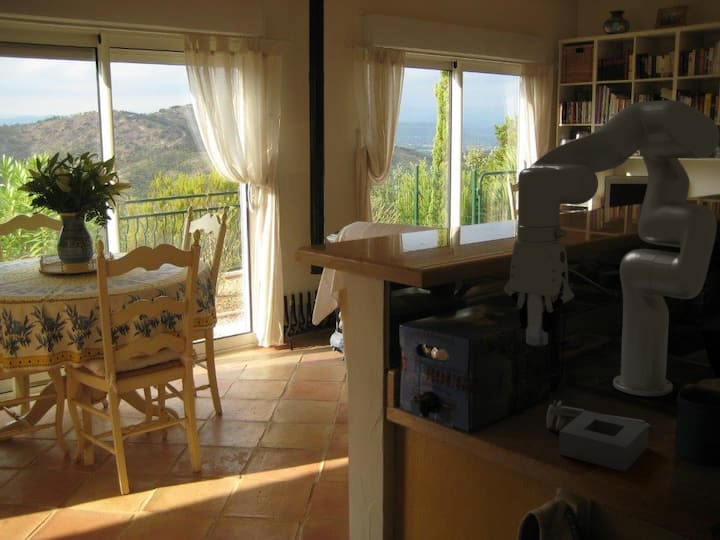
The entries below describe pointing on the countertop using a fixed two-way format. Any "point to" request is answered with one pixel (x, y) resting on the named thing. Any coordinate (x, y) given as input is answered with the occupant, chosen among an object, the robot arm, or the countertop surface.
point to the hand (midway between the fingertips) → (537, 328)
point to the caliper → (570, 415)
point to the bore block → (604, 440)
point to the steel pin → (536, 320)
